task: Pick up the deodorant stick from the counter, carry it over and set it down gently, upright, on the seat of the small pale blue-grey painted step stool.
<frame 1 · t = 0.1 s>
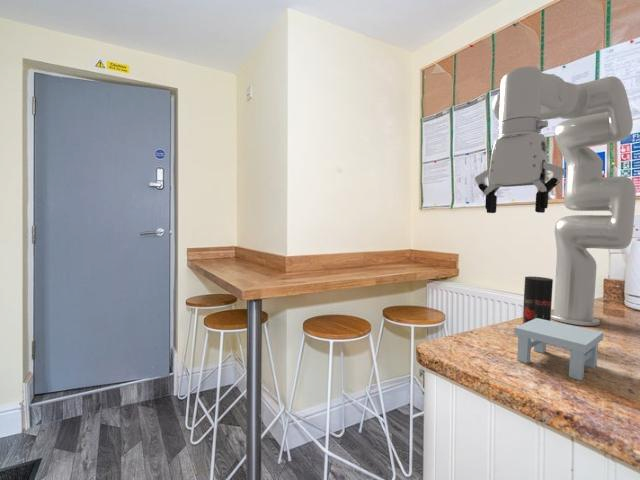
hand: (514, 212, 70), 31 cm above the counter, tool pointing down, fingers open, 9 cm apart
stool: (556, 362, 68), on the counter
deodorant: (535, 337, 85), on the counter
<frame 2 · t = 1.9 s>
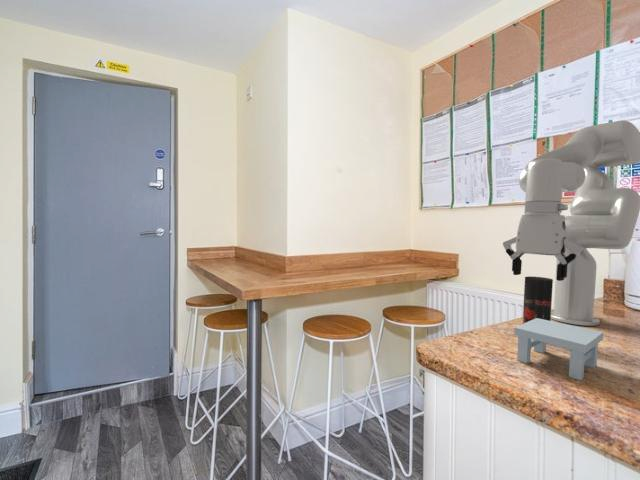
hand: (537, 277, 83), 15 cm above the counter, tool pointing down, fingers open, 9 cm apart
nothing on the counter moved.
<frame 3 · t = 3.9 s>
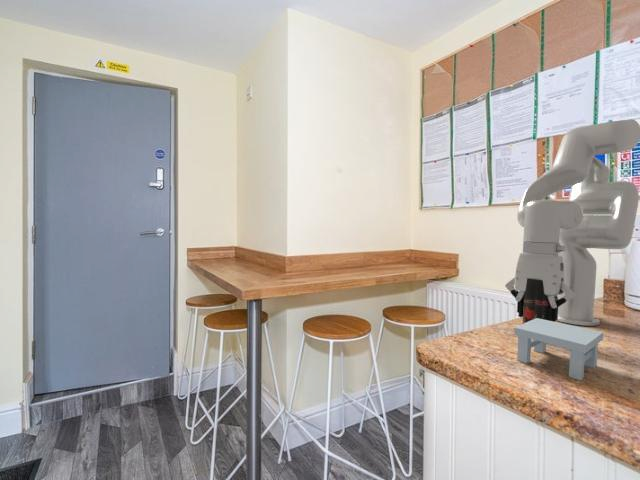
hand: (536, 318, 84), 5 cm above the counter, tool pointing down, fingers closed on deodorant, 5 cm apart
deodorant: (535, 336, 85), on the counter, touching gripper
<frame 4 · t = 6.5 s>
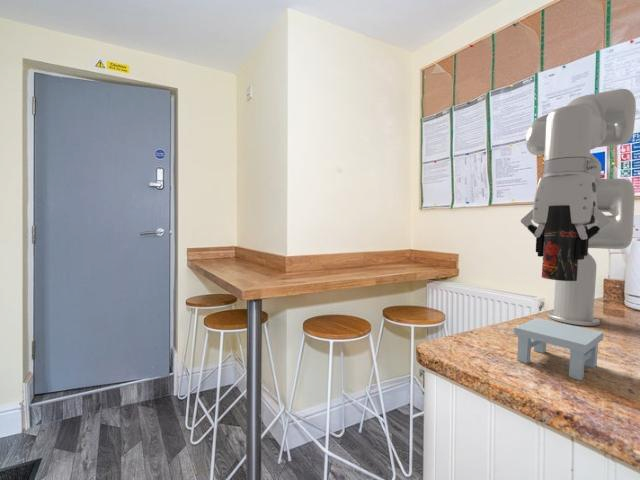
hand: (560, 256, 68), 22 cm above the counter, tool pointing down, fingers closed on deodorant, 5 cm apart
deodorant: (558, 279, 68), point 17 cm above the counter, touching gripper
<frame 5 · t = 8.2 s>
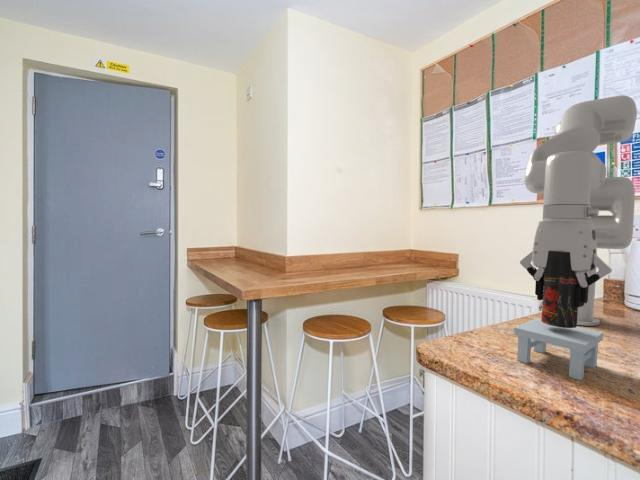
hand: (559, 301, 68), 13 cm above the counter, tool pointing down, fingers closed on deodorant, 5 cm apart
deodorant: (558, 324, 68), point 8 cm above the counter, touching gripper
when the fingers open (12 cm above the counter, at t = 9.2 s): deodorant stays where it is, resting on stool.
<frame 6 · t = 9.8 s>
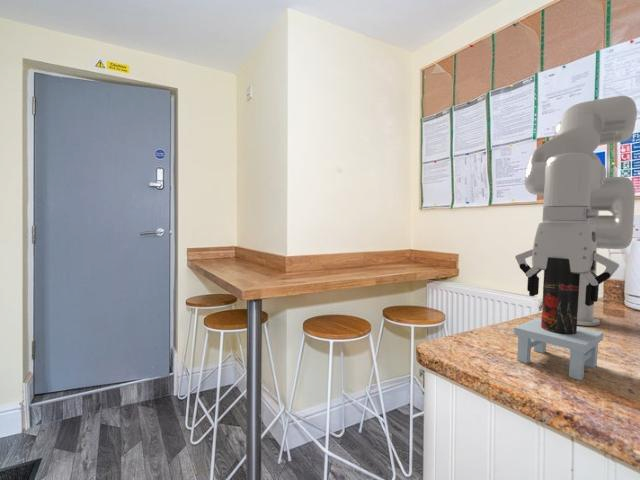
hand: (560, 299, 68), 13 cm above the counter, tool pointing down, fingers open, 9 cm apart
deodorant: (558, 330, 68), point 7 cm above the counter, touching stool
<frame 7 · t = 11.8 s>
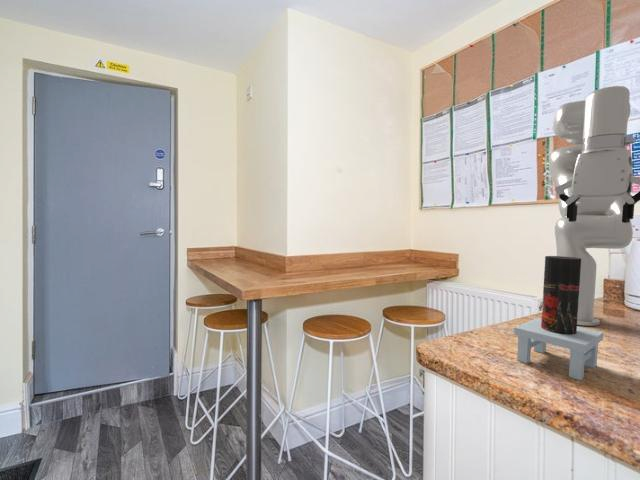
hand: (597, 222, 76), 30 cm above the counter, tool pointing down, fingers open, 9 cm apart
nothing on the counter moved.
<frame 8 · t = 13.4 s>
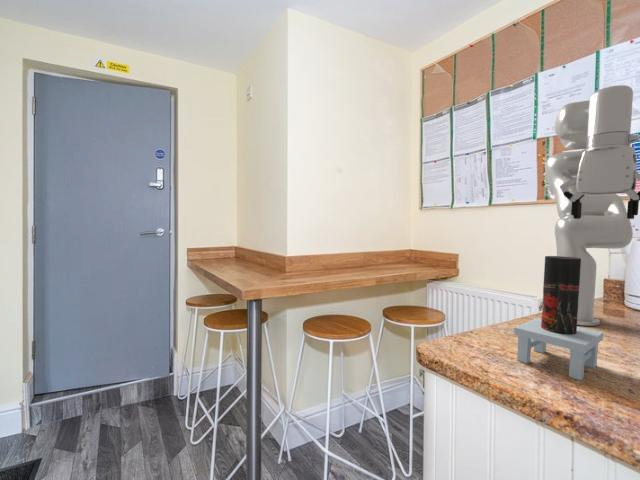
hand: (602, 218, 77), 30 cm above the counter, tool pointing down, fingers open, 9 cm apart
nothing on the counter moved.
at the end: deodorant inside the target area on the stool (0.2 cm from its centre), point 6.8 cm above the stool's base; deodorant tilted 0°; the gripper is holding nothing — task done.
